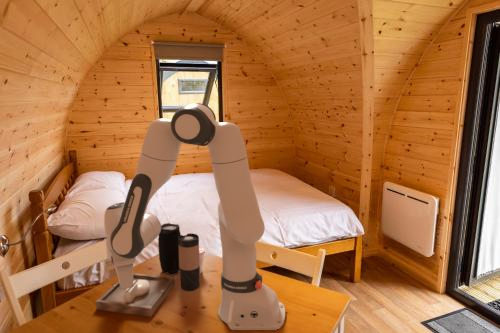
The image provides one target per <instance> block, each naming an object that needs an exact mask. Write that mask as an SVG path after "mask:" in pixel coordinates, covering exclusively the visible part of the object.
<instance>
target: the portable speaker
mask: <svg viewBox="0 0 500 333" xmlns="http://www.w3.org/2000/svg"><path fill="white" fill-rule="evenodd" d="M180 227H181V226H180V225H179V223H178V224H177V223H176V224H174V223H169V222H168V223H167V222H166V223H163V224H161V232H160V234H159V236H158V237H157V238H158V241H157V242H158V257H159V258H158V259H159V264H160V268H161V272H162V273H166V274H168V275H169V276H174V275H177V274H178V273H180V271H179V242H178V238H179V236H181V235H182V234H181V231H180V230H181V229H180Z"/></svg>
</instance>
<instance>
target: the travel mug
mask: <svg viewBox="0 0 500 333" xmlns="http://www.w3.org/2000/svg"><path fill="white" fill-rule="evenodd" d="M178 242H179V282H180V284H179V285H180V289H181V290H182V291H184V292H193V291H197V290H198V289H199V288H200V283H201V282H200V281H201V280H200V279H201V278H200V277H201V273H200V259H199V247H200V237H199V235H198V234H197V233H191V232H190V233H187V234H185V235H182V234H181V236H179V238H178Z"/></svg>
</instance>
